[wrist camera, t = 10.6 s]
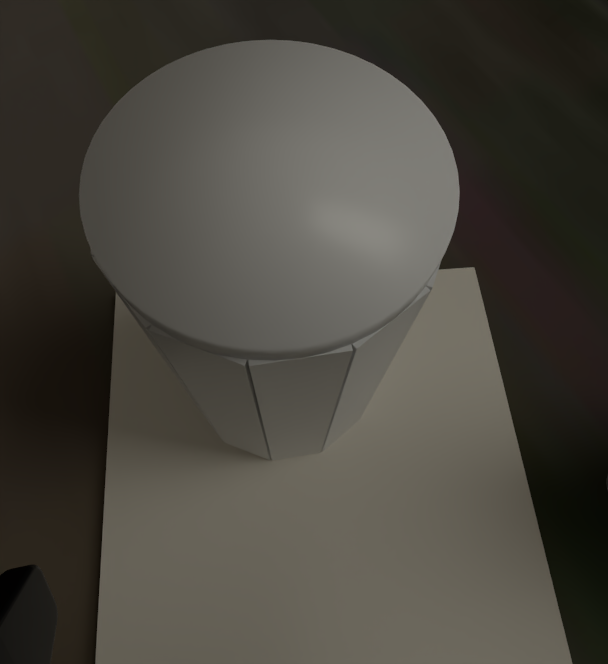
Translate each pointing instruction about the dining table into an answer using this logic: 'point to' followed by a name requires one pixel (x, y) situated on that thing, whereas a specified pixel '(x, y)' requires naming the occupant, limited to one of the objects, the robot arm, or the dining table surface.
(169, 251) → the cover cup
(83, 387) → the dining table surface
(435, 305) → the placemat
